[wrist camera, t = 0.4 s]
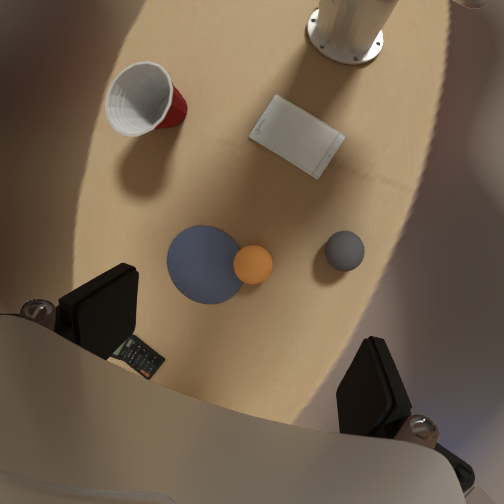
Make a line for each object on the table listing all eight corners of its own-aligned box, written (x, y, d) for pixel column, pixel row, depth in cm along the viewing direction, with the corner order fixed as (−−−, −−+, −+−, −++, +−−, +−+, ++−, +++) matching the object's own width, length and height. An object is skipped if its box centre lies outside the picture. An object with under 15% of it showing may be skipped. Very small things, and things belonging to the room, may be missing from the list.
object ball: (234, 244, 46) (225, 254, 40) (270, 238, 45) (266, 247, 39) (241, 278, 48) (234, 292, 42) (277, 273, 46) (274, 287, 41)
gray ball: (320, 230, 43) (324, 239, 38) (357, 224, 42) (366, 232, 36) (325, 266, 45) (329, 280, 39) (361, 261, 44) (369, 273, 38)
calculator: (150, 378, 59) (144, 385, 56) (111, 347, 58) (105, 354, 56) (166, 358, 56) (160, 366, 53) (124, 324, 56) (117, 330, 53)
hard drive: (247, 136, 40) (317, 180, 40) (275, 93, 38) (346, 136, 38) (249, 137, 42) (317, 180, 42) (276, 96, 39) (344, 137, 39)
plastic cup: (145, 147, 44) (103, 143, 33) (144, 90, 41) (104, 74, 30) (204, 138, 42) (172, 127, 31) (201, 77, 39) (171, 52, 28)
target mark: (159, 233, 48) (158, 234, 48) (235, 218, 45) (234, 219, 45) (179, 306, 51) (179, 306, 51) (252, 299, 48) (252, 299, 48)
